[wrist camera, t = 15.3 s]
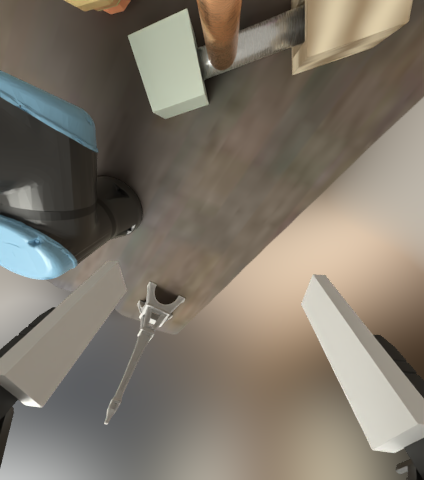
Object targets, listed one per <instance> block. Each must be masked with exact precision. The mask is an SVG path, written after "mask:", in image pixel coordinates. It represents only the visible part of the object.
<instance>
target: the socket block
mask: <svg viewBox="0 0 424 480" xmlns="http://www.w3.org/2000/svg"><path fill="white" fill-rule="evenodd" d="M128 38H129V41H130V44H131V48H132V51H133V54H134V57H135V60H136V63H137V66H138V69H139V72H140V75H141V78H142V81H143V84H144V87H145V90H146V93H147V96H148V99H149V102H150V105H151V108H152V111H153V113H155V114H157V115H159V116H161V117H162V118H164V119H167V118H170V117H173V116H176V115H179V114H182V113H185V112H188V111H191V110H194V109H197V108H200V107H203V106H206V105H209V103H208V98H207V93H206V88H205V83H204V80H202V76H201V71H200V66H199V61H198V56H197V51H196V48H197V43H196V38H195V34H194V31H193V27H192V24H191V20H190V16H189V13H188V9H187V8H186V9H184V10H182V11H180V12H178V13H176V14H173V15H171V16H169V17H167V18H165V19H163V20H160V21H158V22H156V23H154V24H152V25H150V26H148V27H145V28H143V29H141V30H139V31H137V32H135V33H132V34H130V35H128Z"/></svg>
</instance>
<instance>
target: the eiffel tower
mask: <svg viewBox="0 0 424 480" xmlns="http://www.w3.org/2000/svg"><path fill="white" fill-rule="evenodd" d="M156 286H157V285H156V284H154V283H152V282H149V284H148V286H147V299H146V303H145V302H143V301H141V300H139V302H138V304H137V305H138V308H139V311H140V317H139V318H140V319H141V326H140V332H139V333H138V335H137V336H138V339H137V343H136V345H135V348H134V351H133V354H132V356H131V359H130V361H129V364H128V366H127V369H126V371H125V373H124V376H123V378H122V380H121V383H120V385H119V388H118V390H117V392H116V394H115V396H114V398H113V399H112V400H111V401H110V405H109V407H108V410H107V417H106V420H105V422H104V424H108V423H109V421H110V419H111V417H112V416H113V414H114V413H115V412H116V411H117V409H118V407H119V405H120V404H121V399H122V395H123V393H124V391H125V388H126V386H127V384H128V382H129V380H130V378H131V375H132V373H133V371H134V369H135V367H136V365H137V363H138V361H139V359H140V357H141V355H142V353H143V351H144V349H145V348H146V346H147V344H148V342H149V341H150V340H151V338H152V337H153V336H154V334H155V330H156V329H157V328H158V327H161V326H162V325H163V323H164V322H166V321H167V320H169V319H171V317H172V316H173V315H172V314H171V312H172V311H173V310H174V309H175V308H177V307H178V306H179V305H180V304H181V303H183V301H184V300H185V298H184V297H182V296H179V295H178V297H177V298H176V299H175V301H174V302H173V303H171V304H167V305H164V304H161V303H159V302H158V301H157V299H156V297H155V288H156ZM152 312H154V313H156V314H154V313H152ZM157 314H158V315H157ZM149 322H150V323H152V324H154V325H153V327H151V326H149Z"/></svg>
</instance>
